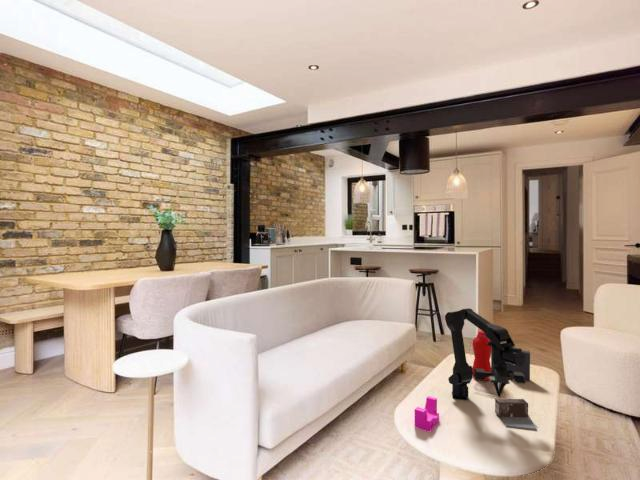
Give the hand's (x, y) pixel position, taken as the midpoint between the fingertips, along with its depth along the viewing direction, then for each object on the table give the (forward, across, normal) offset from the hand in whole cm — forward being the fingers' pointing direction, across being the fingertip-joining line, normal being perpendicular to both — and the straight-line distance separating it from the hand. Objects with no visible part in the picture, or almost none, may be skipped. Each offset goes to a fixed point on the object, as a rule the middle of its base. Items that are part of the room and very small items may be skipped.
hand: (498, 396), depth 155 cm
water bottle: (+9, -1, +44) cm, 45 cm away
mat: (+9, +7, +1) cm, 11 cm away
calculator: (+9, +18, +48) cm, 52 cm away
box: (+6, -1, +1) cm, 6 cm away
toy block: (+10, -28, -11) cm, 31 cm away
